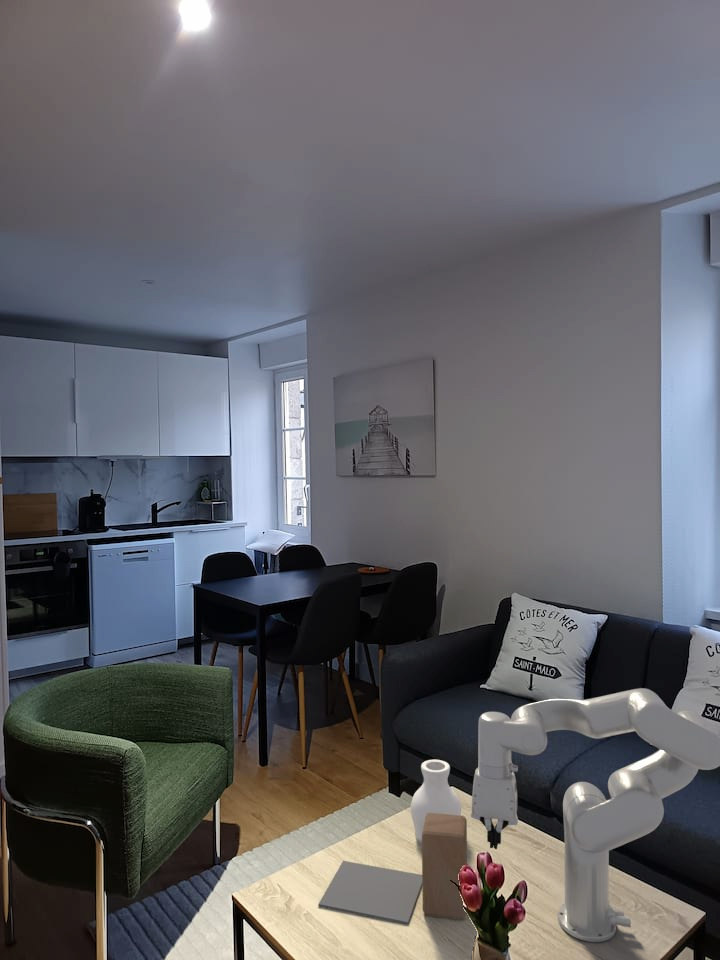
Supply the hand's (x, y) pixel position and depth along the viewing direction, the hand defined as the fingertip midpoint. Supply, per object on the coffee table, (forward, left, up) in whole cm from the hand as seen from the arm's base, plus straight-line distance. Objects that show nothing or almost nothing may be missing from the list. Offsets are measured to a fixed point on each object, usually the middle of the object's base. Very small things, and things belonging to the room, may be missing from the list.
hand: (494, 845), depth 157 cm
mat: (+30, 0, -17) cm, 34 cm away
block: (+12, 0, -17) cm, 20 cm away
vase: (+20, -29, -17) cm, 39 cm away
